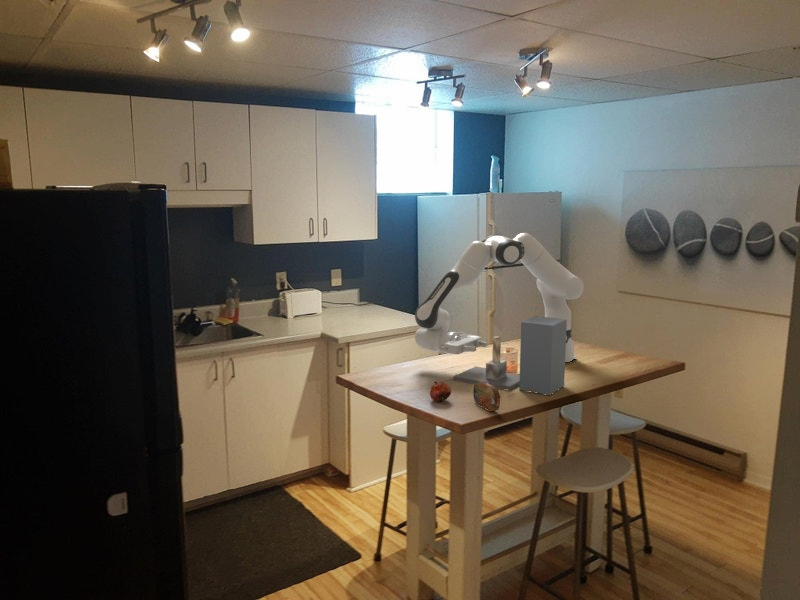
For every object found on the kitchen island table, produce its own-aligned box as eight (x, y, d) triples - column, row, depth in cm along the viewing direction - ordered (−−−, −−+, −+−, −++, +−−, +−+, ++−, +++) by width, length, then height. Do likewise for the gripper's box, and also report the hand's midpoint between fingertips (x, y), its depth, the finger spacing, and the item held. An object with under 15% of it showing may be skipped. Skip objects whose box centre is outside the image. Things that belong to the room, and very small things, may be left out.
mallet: (486, 338, 241) (498, 339, 238) (495, 334, 247) (507, 335, 244) (485, 378, 243) (497, 380, 240) (494, 373, 250) (506, 375, 247)
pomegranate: (453, 408, 219) (446, 385, 226) (455, 396, 214) (448, 373, 221) (433, 412, 218) (426, 388, 225) (434, 400, 213) (427, 376, 220)
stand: (519, 390, 232) (521, 321, 228) (534, 381, 244) (536, 316, 240) (549, 396, 226) (552, 325, 222) (564, 386, 237) (566, 319, 233)
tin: (472, 401, 220) (472, 378, 219) (480, 400, 221) (480, 377, 220) (493, 415, 206) (493, 390, 205) (501, 414, 207) (502, 389, 206)
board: (453, 379, 246) (453, 376, 246) (475, 369, 261) (475, 366, 260) (509, 390, 233) (509, 386, 232) (529, 379, 247) (529, 375, 247)
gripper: (437, 339, 246) (468, 344, 238) (462, 330, 263) (492, 335, 255) (437, 355, 247) (468, 360, 239) (462, 345, 264) (492, 350, 256)
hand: (481, 347), depth 247 cm, fingers open, 8 cm apart
